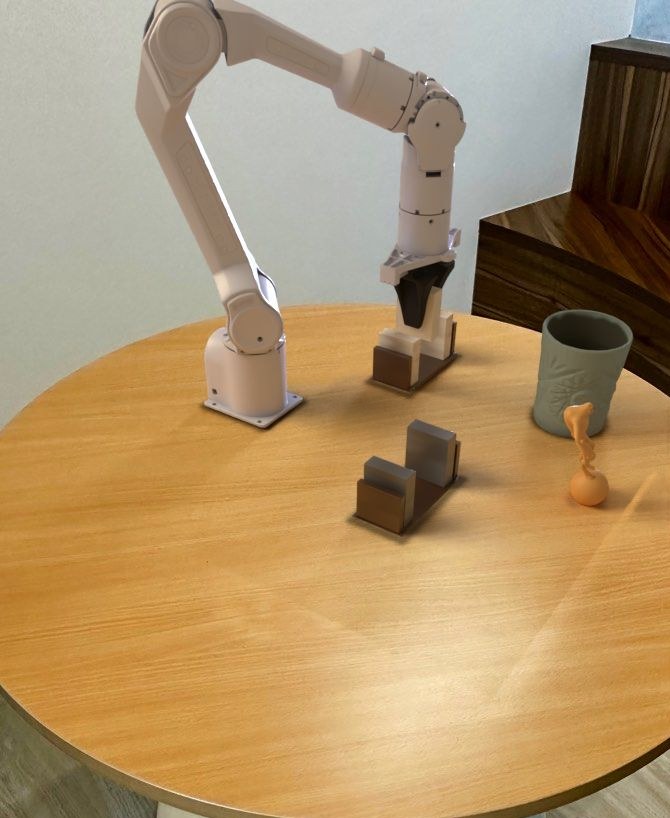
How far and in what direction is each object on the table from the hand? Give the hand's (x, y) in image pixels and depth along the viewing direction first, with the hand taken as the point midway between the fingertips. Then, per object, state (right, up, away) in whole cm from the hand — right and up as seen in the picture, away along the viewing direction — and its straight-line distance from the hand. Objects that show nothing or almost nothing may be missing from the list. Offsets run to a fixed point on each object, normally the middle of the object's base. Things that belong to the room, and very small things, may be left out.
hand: (417, 322), depth 105 cm
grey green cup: (+19, -11, +3) cm, 22 cm away
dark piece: (0, -3, +11) cm, 12 cm away
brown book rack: (-2, -22, -11) cm, 24 cm away
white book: (0, -1, +1) cm, 2 cm away
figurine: (+16, -22, -10) cm, 29 cm away
